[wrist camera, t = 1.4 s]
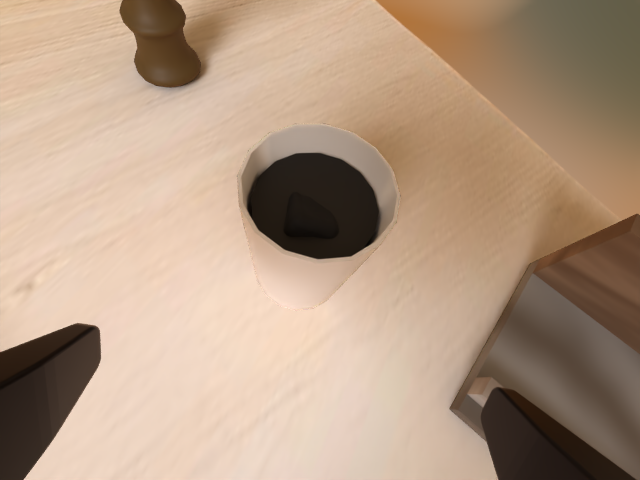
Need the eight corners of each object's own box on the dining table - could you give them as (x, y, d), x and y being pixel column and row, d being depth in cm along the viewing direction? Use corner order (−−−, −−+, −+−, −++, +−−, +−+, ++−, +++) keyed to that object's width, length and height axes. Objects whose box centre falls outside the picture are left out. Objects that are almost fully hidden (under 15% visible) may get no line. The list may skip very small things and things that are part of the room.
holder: (628, 567, 18) (875, 689, 11) (449, 409, 20) (554, 421, 13) (675, 373, 23) (861, 366, 16) (530, 263, 25) (637, 213, 18)
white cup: (346, 321, 21) (405, 272, 12) (241, 313, 20) (222, 254, 11) (347, 229, 24) (396, 134, 15) (255, 219, 23) (248, 112, 14)
